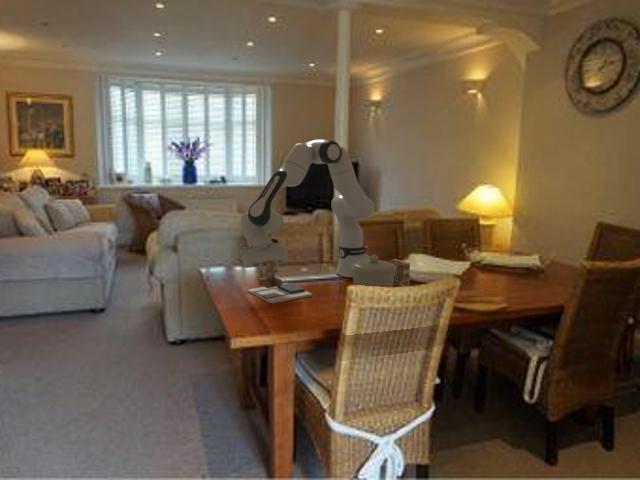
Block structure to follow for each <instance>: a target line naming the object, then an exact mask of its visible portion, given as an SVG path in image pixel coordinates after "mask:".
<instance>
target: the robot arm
mask: <svg viewBox="0 0 640 480" xmlns="http://www.w3.org/2000/svg"><path fill="white" fill-rule="evenodd" d="M312 164H315V165H325V164H326V165H327V166H328V171H329V174H330V178H331V180H332V183H333V186H334V187H333V188H334V189H335V191H337V192H338V193H339V194H337V195H336V196H334V197H333V198H332V200H331V203H330V204H331V206H330V207H331V210H332V211H333V213H334V214H335V217H336V219H337V222H338V226H339V232H340V233H339V234H340V235H339V246H338V254H339V255H338V257H339V258H338V265H337V269H336V272H337V273H338V274H339V275H340V277H345V278H353V271H352V268H351V265H352V264H354V263H355V262H357V261H361V260H370V256H369V255H368V254H367V253H366V251H367V252H369V250H370V247H369V246H364V245H363V244H364V230H363V228H362V227H361V226H360V224H359V221H358V220H367V219H368V220H369V219H370V218H372V217H373V215H374V213H375V203H374V202H373V201H372V200H371V198H369V197H368V196H367V195H366V193H365V191H364V190H363V188H362V187H361V186H360V184H359V182H358V179H357V176H356V173H355V170H354V166H353V162H352V160H351V158H350V156H349V153H348V151H347V150H346V147H344V146H340V144H339V143H338V142H337V141H335V140H332V139H326V138H325V139H324V138H318V139H308V140H307V141H304V142H303V143H302V142H298V143H296V144H294V145H293V147H292V148H291V149H290V150H289V152H288V154H287V156H286V157H285V159H284V161H283V163H282V165H281V166H280V167H279V169H278V170H276V171H275V172H274V173H273V174H272V176H271V177H270V178H269V180H268V182H267V183H266V185H265V187H264V188H263V189H262V191H261V193H260V194H259V196H258V197H257V199H256V200H255V201H254V202H252V204H251V205H250V206H249V208H248V211H247V212H246V213H244V214H243V215H242V216H241V218H240V227H241V232H242V234H243V236H244V237H245V238H246V243H247V246H246V247H245V246H244V247H242V248H240V249H239V250H238V251H239V254H240V255H239V256H241V261H242V264H243V266H244V268H245V269H247V268H248V269H249V268H250V269H251V268H256V267H257V269H259V270H260V271H261V272H262V274H263V275H266V274H267V273H268V271H267V269H266V262H267V261H274V262H275V274H276V273H278V272H279V268H278V265H279V264H284V263H286V262H287V260H288V258H289V257H288V253H287V252H286V249H285V248H284V246H283V245H281V241H280V240H279V239H278V238H273V237H269V235H272V234H275V233H276V232H278V231H279V230H280V229H281V228H282V226H283V223H284V221H283V216H282V214H280V213H279V212H278V211H276V210H275V209H274V208H273V207H272V205H273V203H274V201H275V200H276V198H277V196H278V195H279V193H280V191H281V190H282V189H283V188H286V187H290V188H292V187H293V188H294V187H297V186H299V185H300V184H301V183H302V182H303V180H304V179H305V177H306V176H307V173H308V171H309V168H310V166H311V165H312ZM339 275H338V276H339Z"/></svg>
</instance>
